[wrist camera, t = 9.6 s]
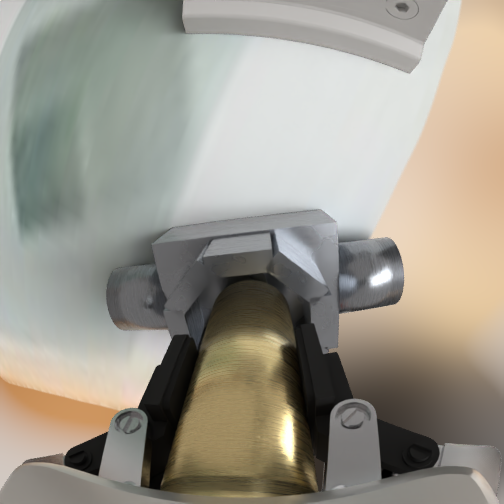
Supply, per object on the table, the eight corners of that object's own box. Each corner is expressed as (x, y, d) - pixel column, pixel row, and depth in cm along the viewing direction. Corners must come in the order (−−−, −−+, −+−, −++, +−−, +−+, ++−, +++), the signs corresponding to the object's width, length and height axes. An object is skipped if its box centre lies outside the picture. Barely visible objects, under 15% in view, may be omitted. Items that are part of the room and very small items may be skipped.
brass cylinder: (286, 275, 14) (335, 552, 2) (292, 342, 15) (319, 567, 3) (205, 284, 14) (111, 535, 2) (219, 348, 15) (179, 564, 4)
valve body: (376, 204, 18) (431, 229, 11) (370, 346, 21) (400, 404, 15) (122, 235, 19) (66, 270, 12) (162, 365, 22) (137, 424, 16)
